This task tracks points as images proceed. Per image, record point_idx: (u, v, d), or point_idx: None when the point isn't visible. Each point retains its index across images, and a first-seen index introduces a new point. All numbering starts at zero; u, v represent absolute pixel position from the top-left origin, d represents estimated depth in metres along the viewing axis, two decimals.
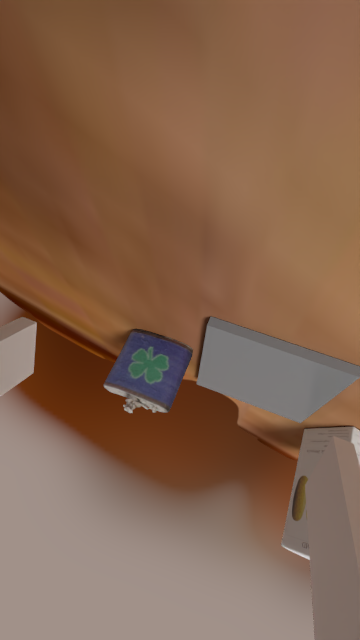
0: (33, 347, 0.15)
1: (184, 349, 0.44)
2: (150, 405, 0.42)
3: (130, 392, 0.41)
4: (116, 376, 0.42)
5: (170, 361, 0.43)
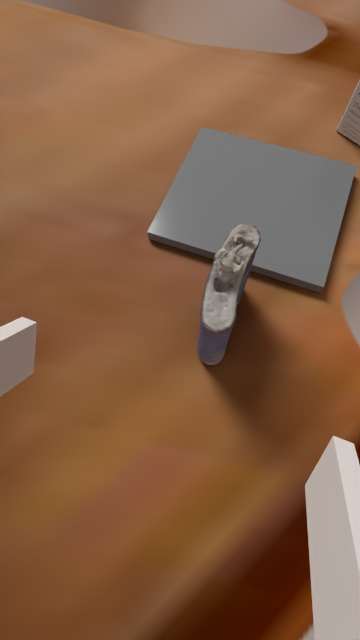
0: (33, 347, 0.15)
1: None
2: (244, 249, 0.24)
3: (209, 273, 0.23)
4: None
5: None
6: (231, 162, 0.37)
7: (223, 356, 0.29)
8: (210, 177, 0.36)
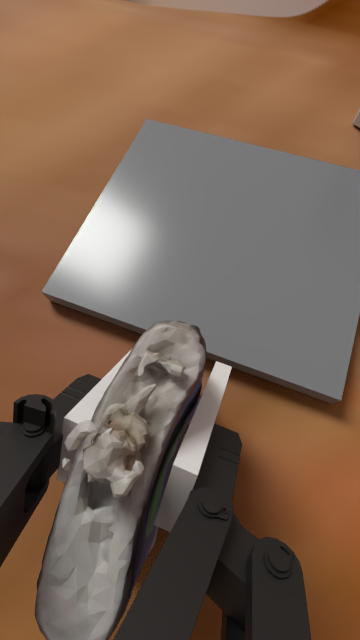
0: None
1: None
2: (164, 390, 0.10)
3: None
4: None
5: None
6: (188, 173, 0.24)
7: (154, 543, 0.16)
8: (154, 198, 0.23)
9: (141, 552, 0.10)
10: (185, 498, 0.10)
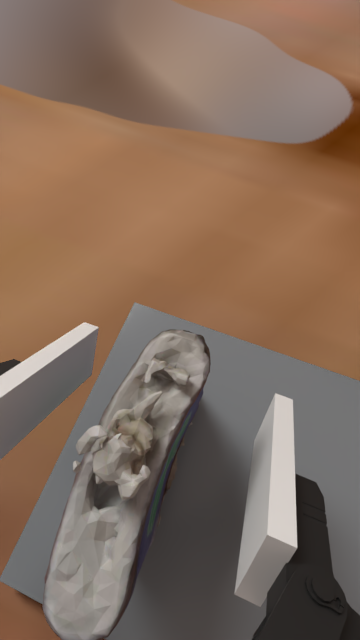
0: (94, 351, 0.16)
1: None
2: (169, 397, 0.11)
3: (83, 456, 0.10)
4: None
5: None
6: None
7: (152, 541, 0.16)
8: None
9: (142, 550, 0.11)
10: (277, 570, 0.09)
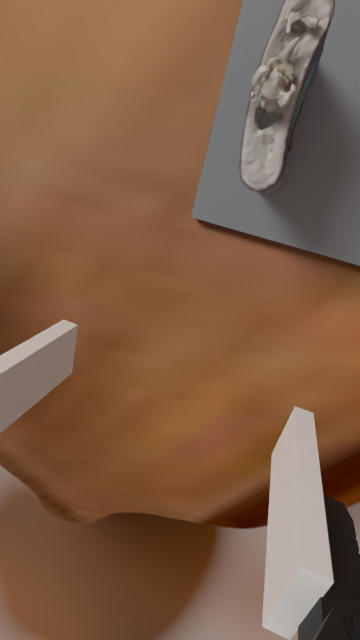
0: (73, 348, 0.16)
1: None
2: (303, 43, 0.15)
3: (249, 99, 0.17)
4: None
5: None
6: None
7: (282, 180, 0.25)
8: None
9: None
10: (311, 604, 0.08)
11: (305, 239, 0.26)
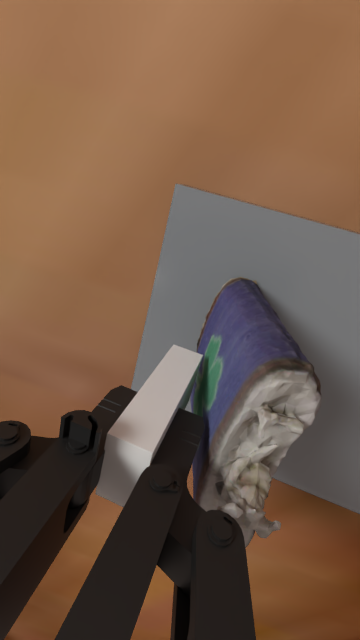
0: None
1: (221, 294, 0.17)
2: (279, 431, 0.11)
3: (204, 473, 0.12)
4: (194, 492, 0.14)
5: (217, 330, 0.16)
6: None
7: None
8: None
9: None
10: None
11: None
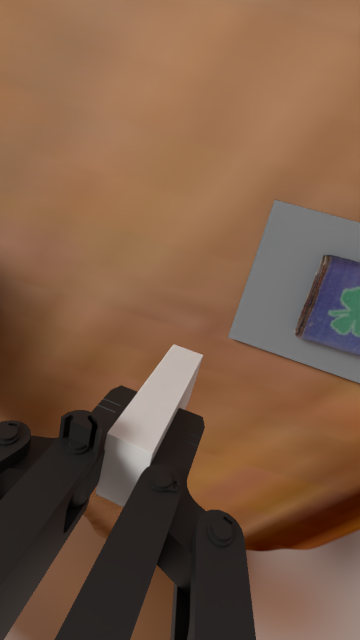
0: None
1: (330, 268, 0.32)
2: None
3: None
4: None
5: (350, 285, 0.32)
6: (308, 254, 0.34)
7: None
8: (284, 275, 0.36)
9: None
10: None
11: (309, 359, 0.38)
